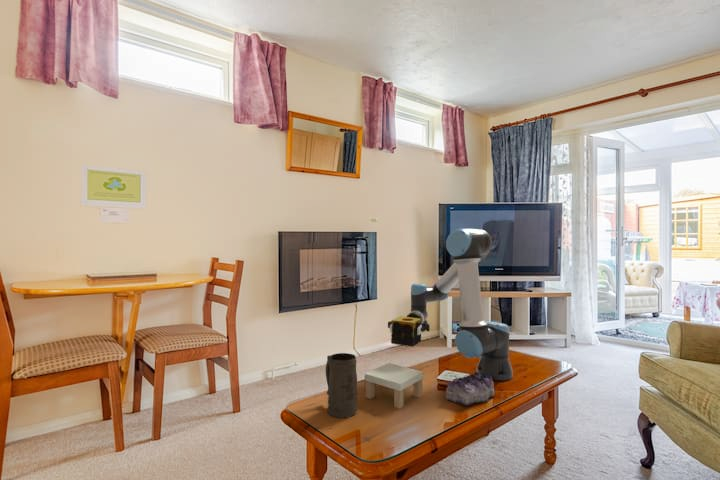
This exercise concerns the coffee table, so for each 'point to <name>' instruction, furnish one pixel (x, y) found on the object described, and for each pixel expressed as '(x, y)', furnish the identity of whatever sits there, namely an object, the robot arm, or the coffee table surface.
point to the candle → (405, 331)
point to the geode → (470, 389)
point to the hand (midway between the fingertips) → (404, 330)
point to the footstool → (394, 381)
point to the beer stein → (341, 385)
